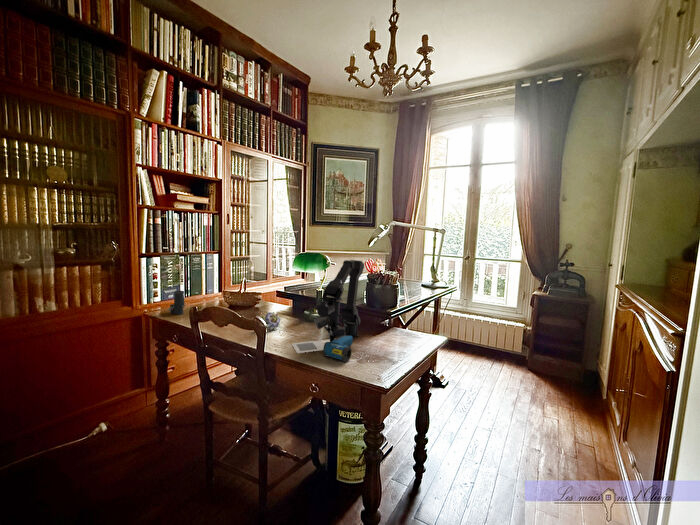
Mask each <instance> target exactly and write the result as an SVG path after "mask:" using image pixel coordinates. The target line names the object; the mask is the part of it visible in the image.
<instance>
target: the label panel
mask: <svg viewBox="0 0 700 525" xmlns="http://www.w3.org/2000/svg"><path fill="white" fill-rule="evenodd" d="M326 342H330V339H329V338H327V339H321V340H309V341H301V342H292V343H291V346H292V347H294V348H293V349H294V351H295V353H296V354H297V353H298V354H304V353H305V352H306V353H311V352H313V351H314V352H320V351H323V348H324V344H325V343H326Z"/></svg>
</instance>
